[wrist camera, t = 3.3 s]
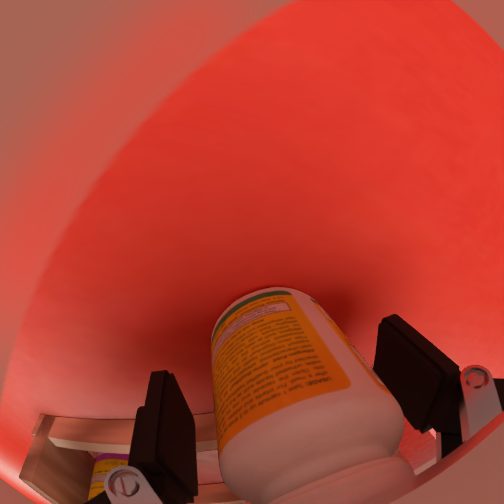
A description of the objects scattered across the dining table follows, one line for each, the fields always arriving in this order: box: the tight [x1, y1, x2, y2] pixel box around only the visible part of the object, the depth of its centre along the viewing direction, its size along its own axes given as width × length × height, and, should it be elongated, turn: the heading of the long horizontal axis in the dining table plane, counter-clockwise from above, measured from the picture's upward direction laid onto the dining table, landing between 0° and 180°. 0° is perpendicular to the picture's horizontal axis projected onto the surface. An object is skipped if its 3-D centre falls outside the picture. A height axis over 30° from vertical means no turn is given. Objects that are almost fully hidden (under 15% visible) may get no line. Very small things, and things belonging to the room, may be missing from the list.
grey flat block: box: [392, 415, 436, 475], centre depth 12 cm, size 2×8×7 cm, turn 9°
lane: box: [19, 369, 373, 504], centre depth 12 cm, size 25×11×6 cm, turn 99°
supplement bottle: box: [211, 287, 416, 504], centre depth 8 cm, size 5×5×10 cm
